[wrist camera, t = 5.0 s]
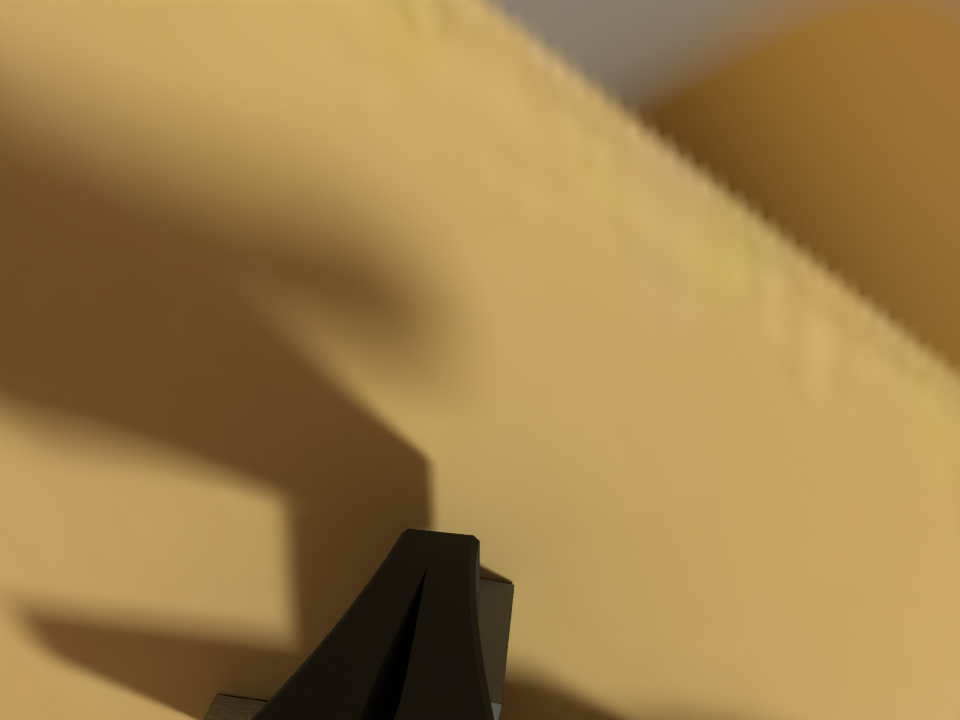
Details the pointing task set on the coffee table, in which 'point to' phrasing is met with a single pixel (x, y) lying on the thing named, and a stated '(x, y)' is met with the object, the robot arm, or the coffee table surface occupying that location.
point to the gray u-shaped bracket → (233, 708)
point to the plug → (495, 635)
